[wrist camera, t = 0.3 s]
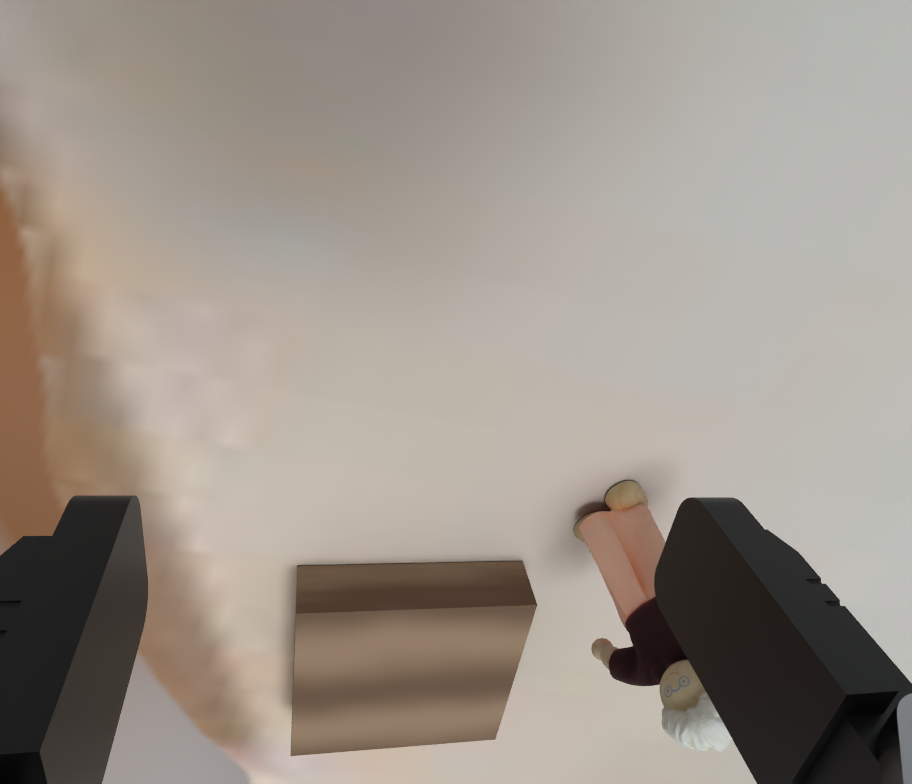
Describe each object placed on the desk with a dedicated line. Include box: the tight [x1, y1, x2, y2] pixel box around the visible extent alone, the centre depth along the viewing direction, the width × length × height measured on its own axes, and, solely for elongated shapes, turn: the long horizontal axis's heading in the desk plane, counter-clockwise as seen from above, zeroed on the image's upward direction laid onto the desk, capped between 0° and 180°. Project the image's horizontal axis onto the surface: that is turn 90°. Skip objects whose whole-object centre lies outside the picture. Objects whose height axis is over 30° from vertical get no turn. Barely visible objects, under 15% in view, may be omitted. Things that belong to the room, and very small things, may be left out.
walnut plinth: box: [291, 561, 537, 756], centre depth 38 cm, size 12×12×3 cm
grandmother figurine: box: [574, 481, 733, 752], centre depth 32 cm, size 8×4×13 cm, turn 153°
